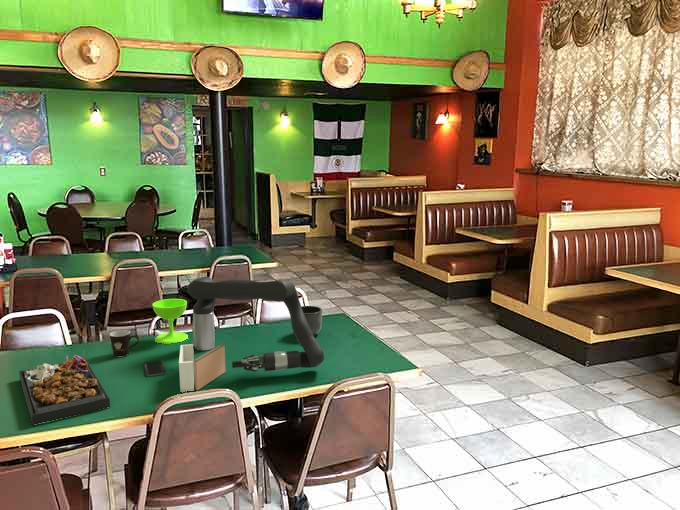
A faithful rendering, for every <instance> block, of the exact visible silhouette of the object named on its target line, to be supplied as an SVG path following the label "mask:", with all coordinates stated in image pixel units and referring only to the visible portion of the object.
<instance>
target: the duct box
mask: <svg viewBox="0 0 680 510" xmlns="http://www.w3.org/2000/svg"><path fill="white" fill-rule="evenodd" d="M179 348H180V349H179V358H178V368H179V369H178V371H179V372H178V373H179V388H180V392H182V393H183V392H185V391H186V392H185V393H188V392H187V391H194V392H195V366H194V360H195V352H194V348H193V343H192V344H191V343H190V344H180V346H179ZM182 393H181V394H182ZM183 394H184V393H183Z"/></svg>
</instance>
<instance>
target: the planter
mask: <svg viewBox="0 0 680 510" xmlns="http://www.w3.org/2000/svg"><path fill="white" fill-rule="evenodd" d="M301 307H302V310H303V313H304V316H305V318H306V320H307V323H308V325H309V327H310V329H311V331H312V333H313V335H314V337H315V336H317V334H319V332H320V331H321V329H322V322H323V309H322V308H321V307H319V306H316V305H315V306H314V305H301Z"/></svg>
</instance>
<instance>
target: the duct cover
mask: <svg viewBox="0 0 680 510" xmlns="http://www.w3.org/2000/svg"><path fill="white" fill-rule="evenodd" d="M225 345H226V344H225V343H223V342H222V343H221V344H219V345H217V346H215V347H214V348H213V349H210V350H208V351H206V353H203V354H202V355H200V356H198V357H197V358H194V388H195V390H196V391H199V390H201V389H202V388H203V387H205V386H207V385H208V384H209V383H210V382H212V381H214V380H215V379H217V378H218V377H220V376H222V375H223V374H224V373H226V349H225V347H226V346H225Z"/></svg>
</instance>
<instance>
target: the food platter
mask: <svg viewBox="0 0 680 510" xmlns="http://www.w3.org/2000/svg"><path fill="white" fill-rule="evenodd" d="M83 353H85V350H83ZM18 375H19V382H20V381H21V383H20V386H21V385H22V386H21V390H22V389H23V390H22V393H23V392H24V393H23V397H24V396H25V397H24V399H26V400H25V403H27V404H26V407H27V406H28V407H27V411H28V410H29V411H28V414H29V413H30V415H29V418H30V417H31V418H30V421H32V422H31V425H32V424H33V425H34V424H38V423H42V422H47V421H52V420H56V419H60V418H65V417H69V416H74V415H78V414H82V415H84V414H83V413H87V412H91V413H93V412H92V411H95V410H99V409H103V408H107V407H110V408H111V399H110V397H109V396H108V395H109V394H107V391H106V390H105V389H104V387H103V386H102V384H101V382H100V381H99V379H98V377H97V376H96V373H94V371H93V369H92V368H91V366H90V364H89V363H88V360H86V358H85V354H83V355H82V357H81V356H79V355H73V357H72V358H71V359H69V355H68V354H66V361H64V362H60V363H55V364H54V363H53V364H48V363H46V362H45V363H43V364H41V365H36V367H33V368H29V369H24V370H18ZM107 409H108V408H107ZM103 410H104V409H103ZM99 411H100V410H99ZM95 412H96V411H95ZM87 414H88V413H87ZM78 416H79V415H78ZM74 417H75V416H74ZM33 425H32V426H33Z"/></svg>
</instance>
